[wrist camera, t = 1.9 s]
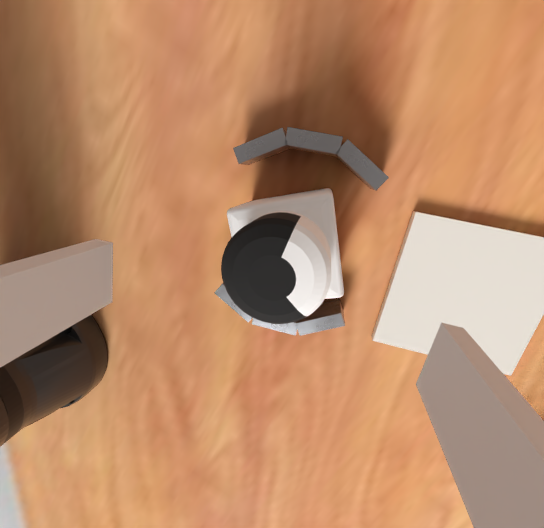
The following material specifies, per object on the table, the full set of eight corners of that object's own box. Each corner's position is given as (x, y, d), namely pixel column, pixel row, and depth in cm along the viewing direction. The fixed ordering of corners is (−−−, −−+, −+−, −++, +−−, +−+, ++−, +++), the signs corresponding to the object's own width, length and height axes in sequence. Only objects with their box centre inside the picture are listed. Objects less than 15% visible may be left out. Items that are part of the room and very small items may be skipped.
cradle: (222, 300, 30) (211, 313, 27) (247, 124, 25) (237, 118, 22) (337, 329, 29) (338, 346, 26) (389, 149, 23) (397, 146, 21)
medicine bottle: (264, 275, 28) (222, 343, 17) (250, 200, 27) (193, 220, 15) (340, 267, 27) (349, 335, 16) (331, 187, 25) (334, 197, 14)
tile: (371, 336, 28) (372, 340, 27) (413, 210, 24) (415, 211, 24) (505, 369, 27) (510, 375, 26) (572, 242, 23) (580, 244, 22)
